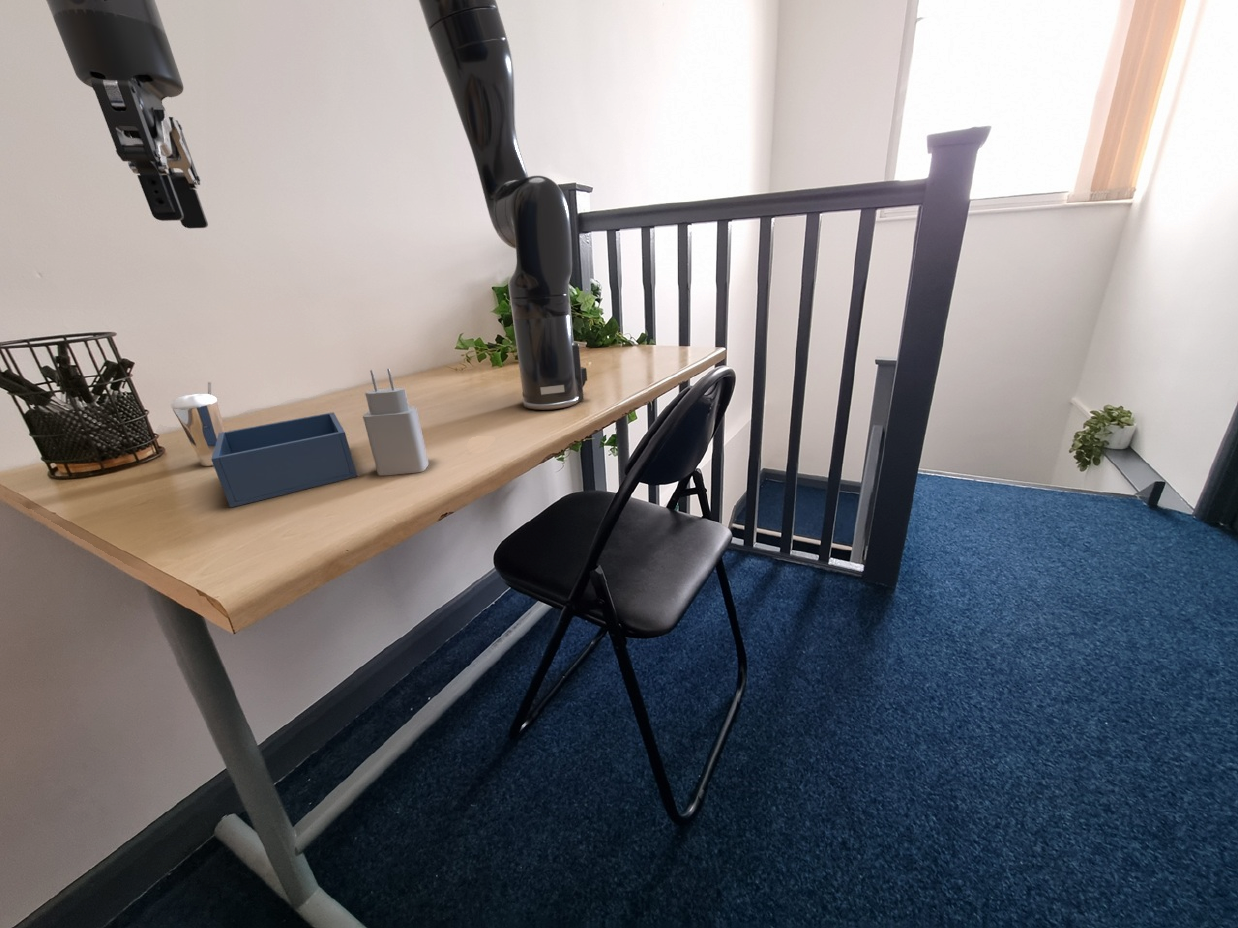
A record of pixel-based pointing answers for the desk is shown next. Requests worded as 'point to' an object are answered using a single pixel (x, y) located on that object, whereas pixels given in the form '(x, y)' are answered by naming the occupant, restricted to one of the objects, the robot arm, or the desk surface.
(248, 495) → the basket
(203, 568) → the desk surface
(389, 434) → the power adapter
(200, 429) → the milkshake
